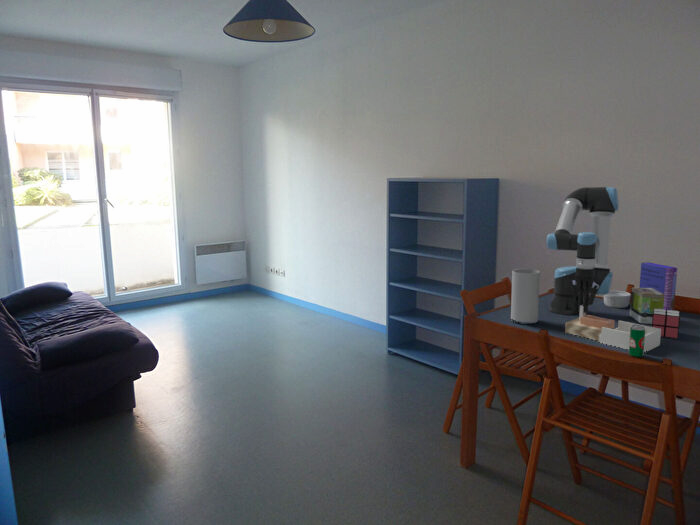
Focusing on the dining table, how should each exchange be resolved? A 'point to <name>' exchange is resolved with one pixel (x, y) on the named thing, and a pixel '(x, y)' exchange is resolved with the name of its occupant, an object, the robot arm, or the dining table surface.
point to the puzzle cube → (666, 322)
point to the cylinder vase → (525, 295)
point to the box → (622, 336)
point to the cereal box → (660, 281)
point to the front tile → (604, 323)
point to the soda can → (637, 340)
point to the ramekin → (617, 299)
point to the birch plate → (582, 329)
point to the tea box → (645, 304)
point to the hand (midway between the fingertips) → (582, 319)
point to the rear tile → (588, 320)
